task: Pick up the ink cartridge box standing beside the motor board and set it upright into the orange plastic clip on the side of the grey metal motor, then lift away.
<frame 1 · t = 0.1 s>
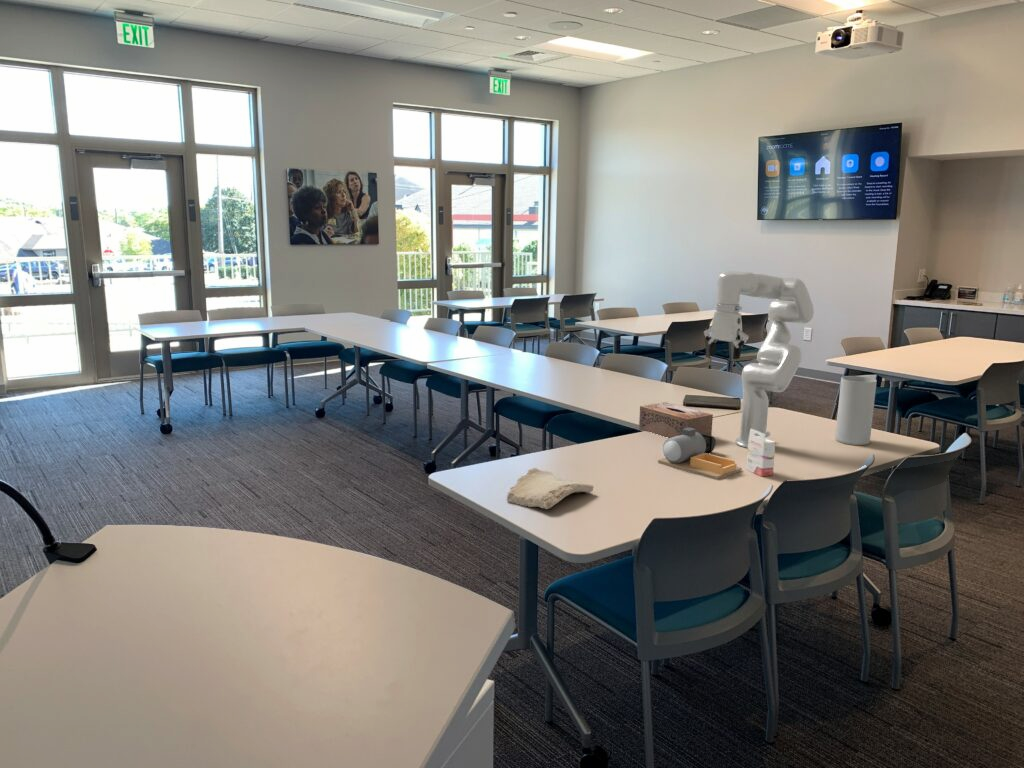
hand: (724, 356, 267), 37 cm above the table, tool pointing down, fingers open, 9 cm apart
tissue box cover: (674, 434, 305), on the table
end cap: (698, 452, 281), on the table
beige pottery fragment: (546, 497, 232), on the table
cylinder vase: (852, 441, 297), on the table
motor mount: (699, 466, 262), on the table
ink cartridge box: (759, 473, 257), on the table
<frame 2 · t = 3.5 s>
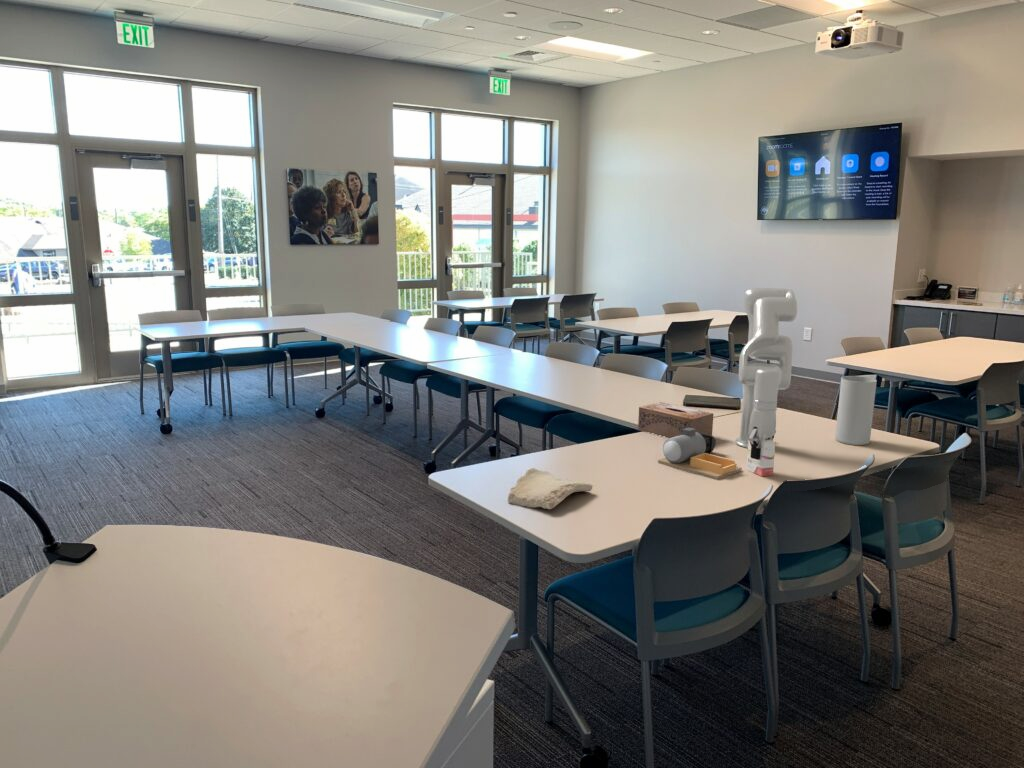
hand: (760, 456, 256), 6 cm above the table, tool pointing down, fingers closed on ink cartridge box, 6 cm apart
ink cartridge box: (759, 472, 257), on the table, touching gripper
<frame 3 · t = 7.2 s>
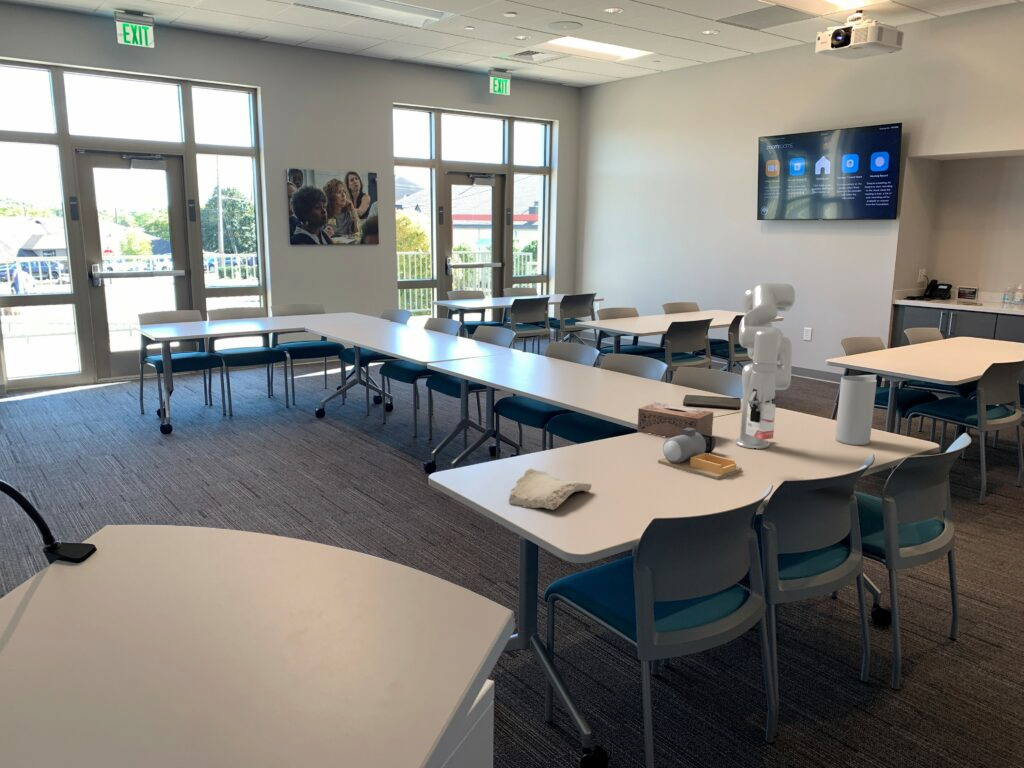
hand: (760, 419, 254), 18 cm above the table, tool pointing down, fingers closed on ink cartridge box, 6 cm apart
ink cartridge box: (759, 436, 255), point 12 cm above the table, touching gripper
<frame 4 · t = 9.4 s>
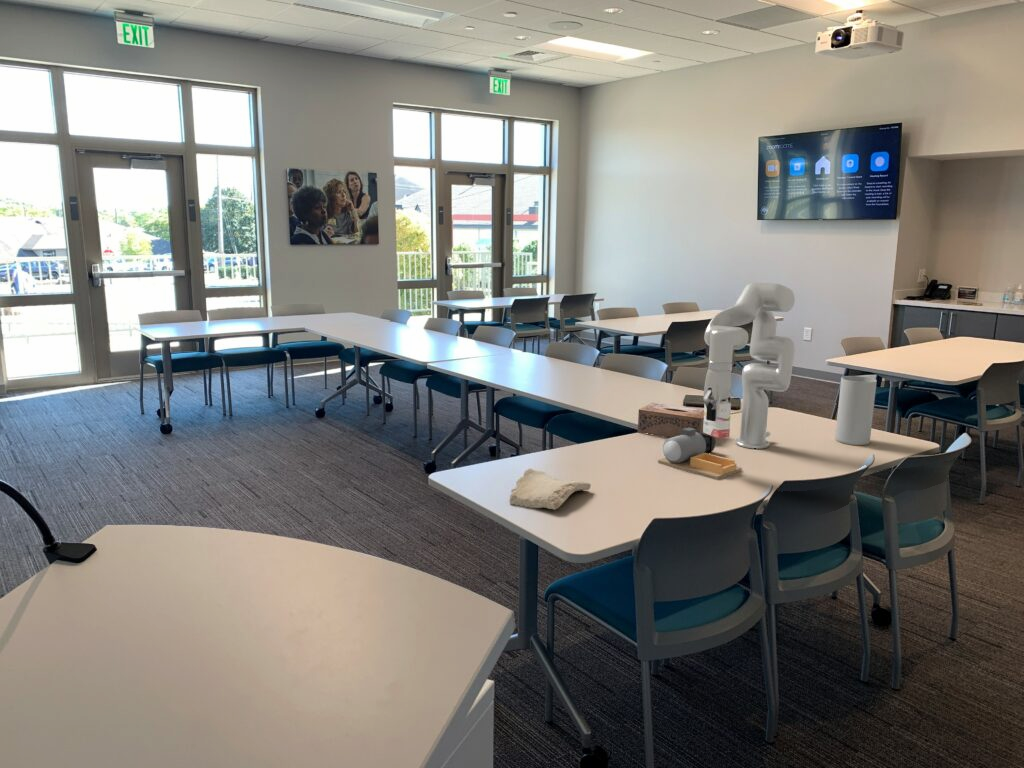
hand: (716, 418, 255), 18 cm above the table, tool pointing down, fingers closed on ink cartridge box, 6 cm apart
ink cartridge box: (716, 435, 256), point 12 cm above the table, touching gripper
when the fingers open (9 cm above the table, at t = 11.3 s): ink cartridge box stays where it is, resting on motor mount.
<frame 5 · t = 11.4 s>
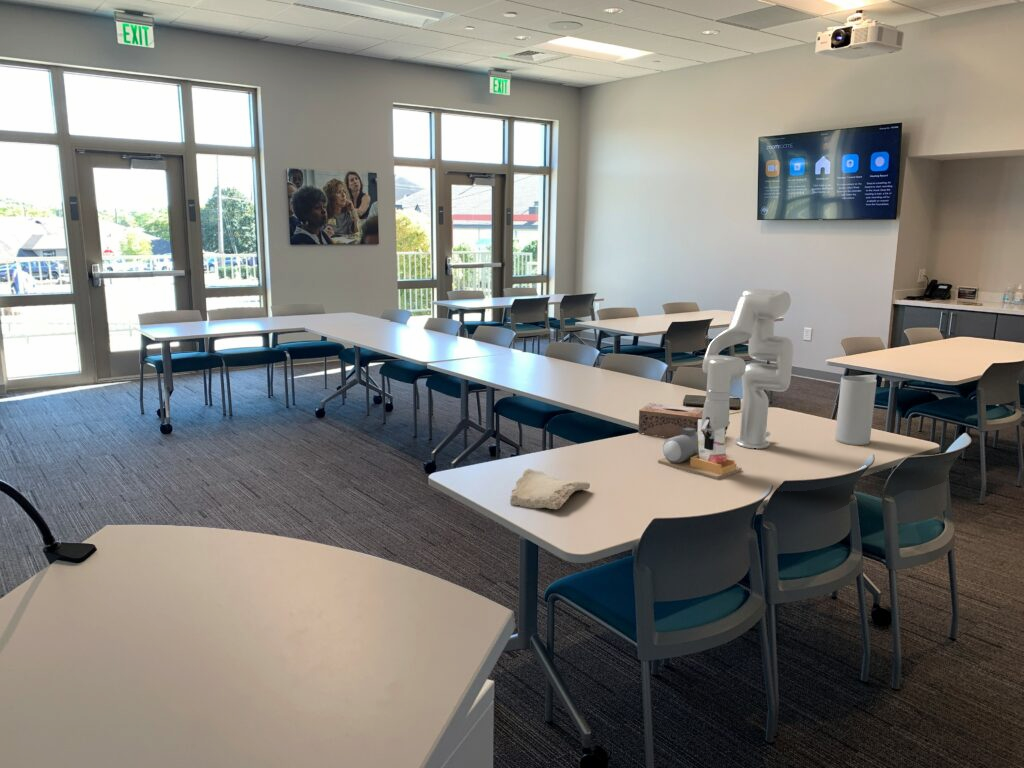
hand: (714, 447, 257), 8 cm above the table, tool pointing down, fingers open, 6 cm apart
ink cartridge box: (712, 462, 258), point 3 cm above the table, touching motor mount
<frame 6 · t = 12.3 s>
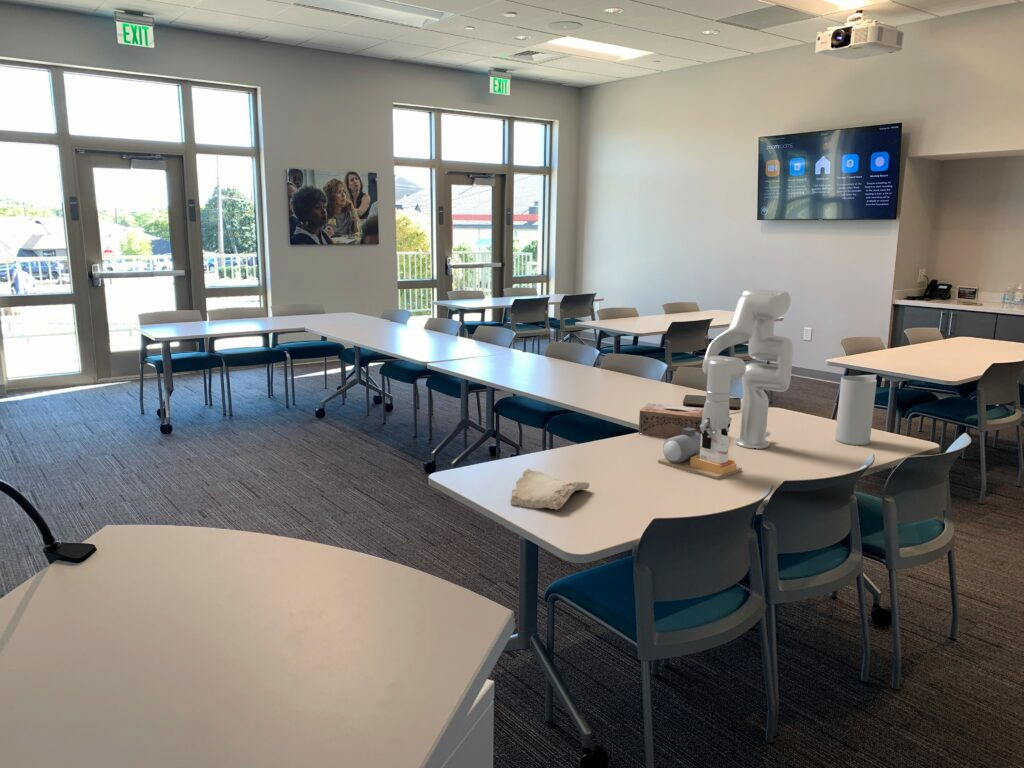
hand: (714, 445, 257), 9 cm above the table, tool pointing down, fingers open, 9 cm apart
ink cartridge box: (712, 468, 258), point 1 cm above the table, touching motor mount
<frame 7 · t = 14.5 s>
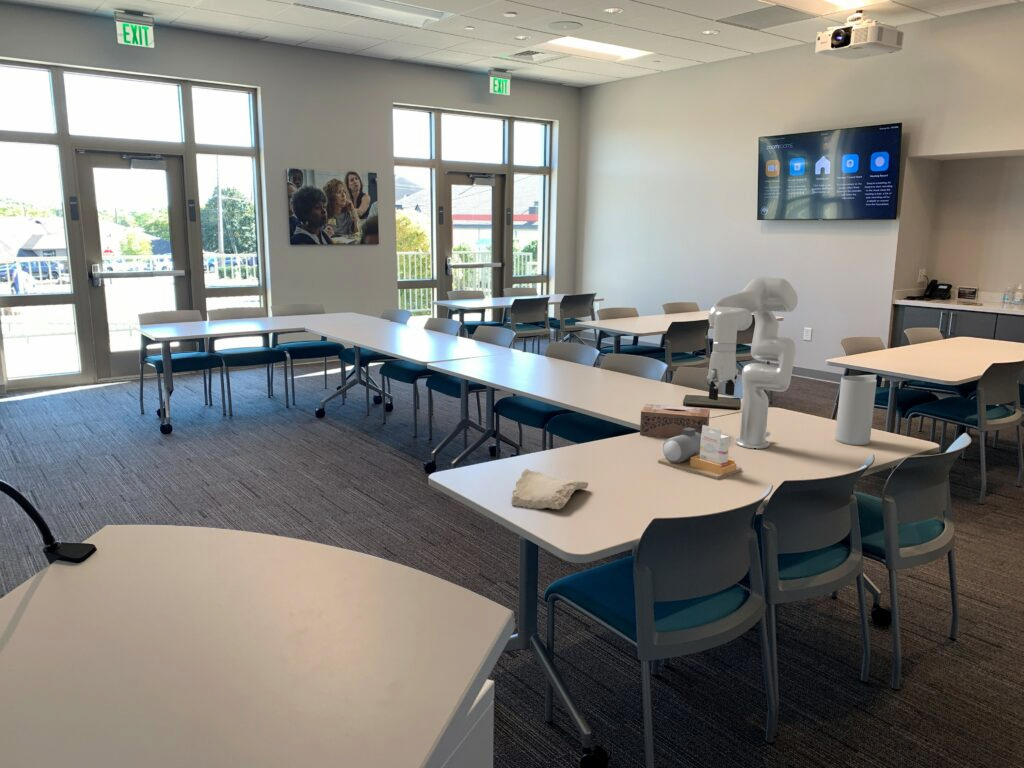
hand: (721, 397, 256), 25 cm above the table, tool pointing down, fingers open, 9 cm apart
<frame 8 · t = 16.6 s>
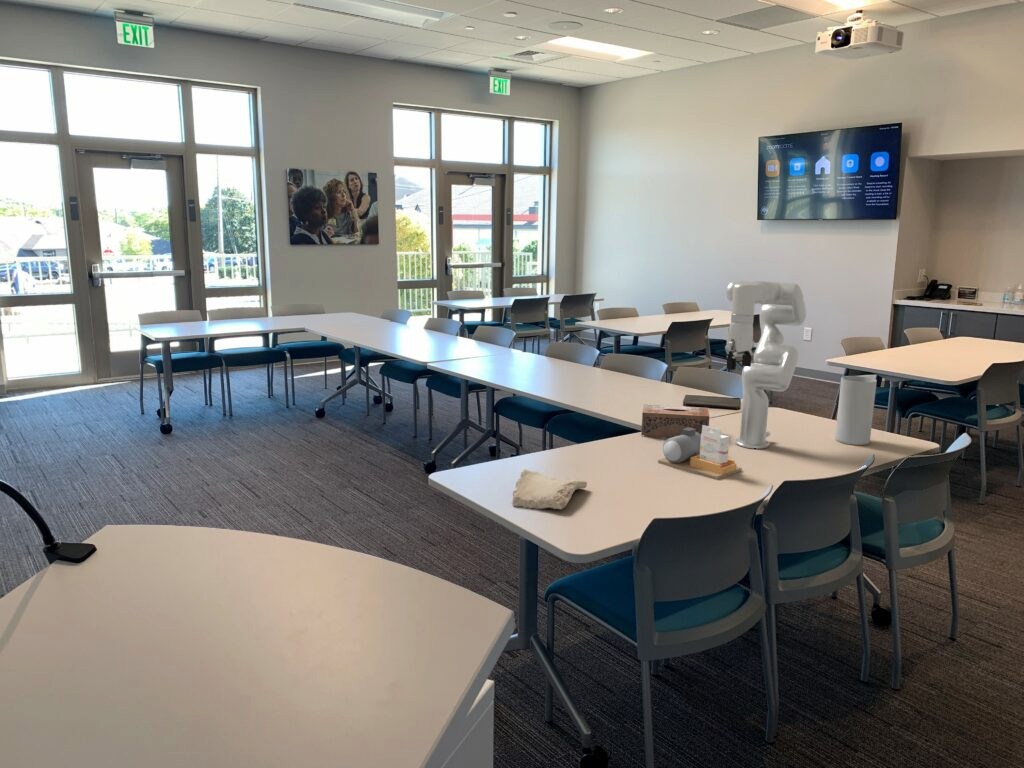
hand: (738, 367, 266), 33 cm above the table, tool pointing down, fingers open, 9 cm apart
at the end: ink cartridge box 0.3 cm from the target spot on the motor mount, point 0.8 cm above the motor mount's base; ink cartridge box tilted 0°; the gripper is holding nothing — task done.
